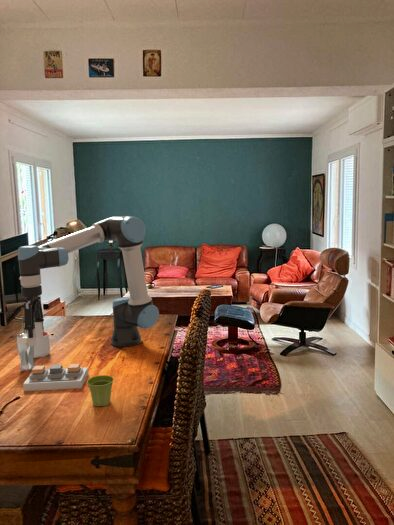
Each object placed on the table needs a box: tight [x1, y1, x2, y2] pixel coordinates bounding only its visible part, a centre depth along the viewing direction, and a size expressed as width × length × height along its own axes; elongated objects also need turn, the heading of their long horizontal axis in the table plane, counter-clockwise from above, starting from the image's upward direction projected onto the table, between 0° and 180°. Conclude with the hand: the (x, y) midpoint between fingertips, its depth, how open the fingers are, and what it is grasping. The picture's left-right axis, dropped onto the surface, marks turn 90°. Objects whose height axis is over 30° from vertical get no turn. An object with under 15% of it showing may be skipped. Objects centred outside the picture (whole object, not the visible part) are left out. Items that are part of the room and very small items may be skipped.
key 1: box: [31, 365, 46, 373], centre depth 179 cm, size 4×4×2 cm
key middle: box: [49, 364, 64, 373], centre depth 179 cm, size 4×4×2 cm
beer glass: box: [16, 333, 36, 372], centre depth 195 cm, size 7×7×15 cm
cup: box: [34, 331, 51, 359], centre depth 212 cm, size 10×10×10 cm
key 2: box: [67, 363, 81, 372], centre depth 179 cm, size 4×4×2 cm
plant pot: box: [86, 374, 115, 407], centre depth 159 cm, size 9×9×9 cm
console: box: [22, 366, 89, 392], centre depth 179 cm, size 22×14×4 cm, turn 93°
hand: (36, 341), depth 177 cm, fingers open, 9 cm apart
